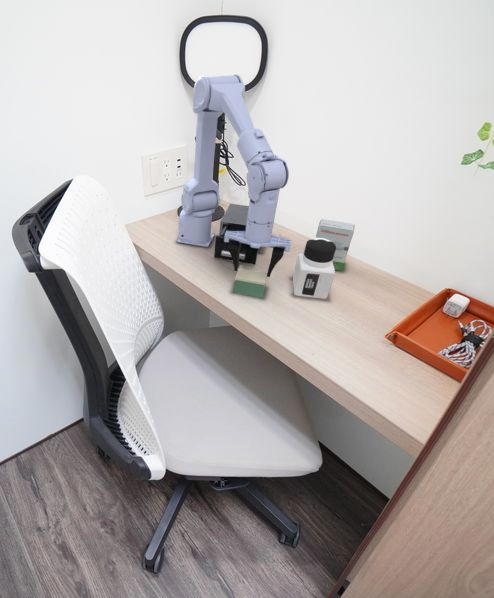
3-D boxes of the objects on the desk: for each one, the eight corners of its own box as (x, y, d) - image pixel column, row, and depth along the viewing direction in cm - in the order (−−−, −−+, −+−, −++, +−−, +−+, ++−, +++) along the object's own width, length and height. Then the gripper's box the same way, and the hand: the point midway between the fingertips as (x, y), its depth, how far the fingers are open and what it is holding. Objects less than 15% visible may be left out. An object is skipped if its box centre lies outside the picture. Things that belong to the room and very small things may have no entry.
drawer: (252, 272, 93) (256, 251, 90) (210, 265, 96) (211, 244, 92) (261, 243, 106) (264, 223, 102) (223, 237, 109) (225, 218, 105)
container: (327, 299, 86) (342, 252, 78) (293, 295, 87) (305, 248, 79) (323, 282, 92) (337, 236, 84) (292, 278, 93) (303, 232, 85)
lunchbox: (233, 292, 88) (235, 277, 85) (236, 282, 91) (238, 267, 89) (262, 298, 86) (265, 282, 84) (264, 288, 90) (267, 272, 87)
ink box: (343, 263, 99) (356, 223, 92) (341, 271, 96) (355, 231, 89) (310, 256, 102) (320, 217, 95) (308, 264, 99) (318, 224, 92)
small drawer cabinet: (261, 253, 103) (265, 227, 98) (218, 246, 106) (220, 221, 102) (267, 233, 114) (271, 208, 109) (227, 227, 117) (230, 203, 112)
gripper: (223, 221, 76) (218, 275, 84) (294, 231, 73) (282, 286, 81) (230, 208, 81) (224, 260, 90) (296, 217, 78) (284, 270, 86)
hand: (252, 272), depth 86 cm, fingers open, 7 cm apart
